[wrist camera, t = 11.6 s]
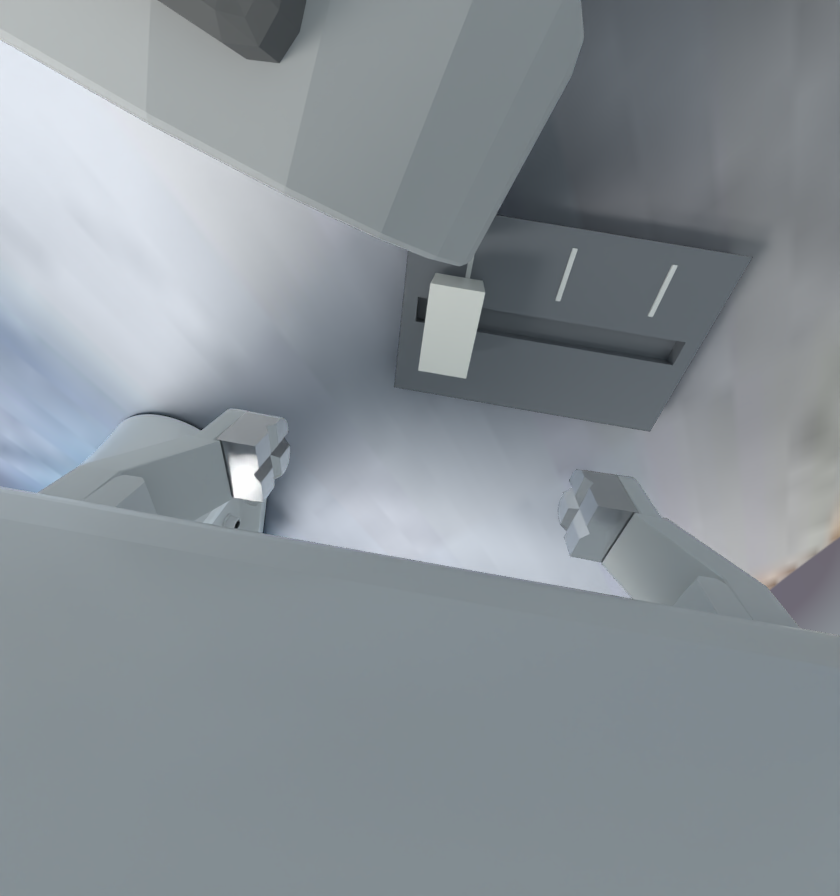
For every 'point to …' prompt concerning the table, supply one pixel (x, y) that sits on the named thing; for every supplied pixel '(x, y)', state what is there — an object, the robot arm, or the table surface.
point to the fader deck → (574, 320)
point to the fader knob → (451, 324)
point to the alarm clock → (332, 95)
